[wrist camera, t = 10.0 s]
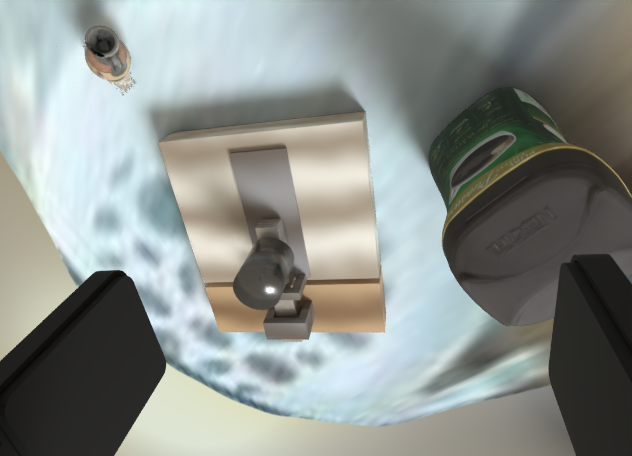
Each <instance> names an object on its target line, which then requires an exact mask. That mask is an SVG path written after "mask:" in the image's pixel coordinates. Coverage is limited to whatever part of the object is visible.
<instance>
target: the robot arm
mask: <svg viewBox="0 0 632 456" xmlns="http://www.w3.org/2000/svg"><path fill="white" fill-rule="evenodd" d="M165 369H166V360H165V357H164V354H163V352H162V350H161V347H160V345H159V342H158V340H157V337H156V335H155V333H154V330H153V328H152V325H151V323H150V321H149V318H148V316H147V313H146V311H145V308H144V306H143V304H142V301H141V299H140V296H139V294H138V292H137V289H136V287H135V284H134V282H133V280H132V279H131V278H130V277H129V276H127V275H126V274H125V273H124V272H123V271H120V270H111V271H97V272H95V273H93V274H92V275H91V276H90V277H89V278H88V279H87V280H86V281H85V282H84V283H83V284H82V285H80V286H79V287H78V288H77V289H76V290H75V291H74V292H73V293H72V294H71V295H70V296H69V297H68V298H67V299H66V300H65V301H64V302H62V303H61V304H60V305H59V306H58V307H57V308H56V309H55V310H54V311H53V312H52V313H51V314H50V315H49V316H48V317H47V318H45V319H44V320H43V321H42V322H41V323H40V324H39V325H38V326H37V327H36V328H35V329H34V330H33V331H32V332H31V333H30V334H28V336H26V337H25V338H24V339H23V340H22V341H21V342H20V343H19V344H18V345H17V346H16V347H15V348H14V349H13V350H12V351H10V353H8V354H7V355H6V356H5V357H4V358H3V359H2V360H1V361H0V456H114V455H115V453H116V452H117V450H118V448H119V447H120V445H121V444H122V442H123V440H124V439H125V437H126V435H127V434H128V432H129V431H130V429H131V427H132V425H133V424H134V422H135V421H136V419H137V417H138V416H139V414H140V413H141V411H142V409H143V408H144V406H145V404H146V403H147V401H148V399H149V398H150V396H151V395H152V393H153V391H154V390H155V388H156V386H157V385H158V383H159V382H160V380H161V378H162V376H163V375H164V373H165ZM549 377H550V382H551V386H552V388H553V391H554V394H555V397H556V400H557V403H558V405H559V408H560V411H561V414H562V417H563V420H564V422H565V425H566V428H567V431H568V434H569V436H570V439H571V442H572V445H573V448H574V451H575V453H576V456H632V284H631V282H630V281H629V280H628V278H627V277H626V275H625V274H624V273H623V271H622V270H621V269H620V267H619V266H618V265H617V263H616V262H615V261H614V259H613V258H612V257H611V256H610V255H609V254H582V255H574V256H572V259H571V262H569V263H562V264H561V267H560V273H559V282H558V290H557V299H556V307H555V316H554V324H553V333H552V342H551V350H550V359H549Z"/></svg>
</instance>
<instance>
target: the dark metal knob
mask: <svg viewBox="0 0 632 456" xmlns="http://www.w3.org/2000/svg"><path fill="white" fill-rule="evenodd" d="M255 230H256V234H257V238H258V241H257V242H256V243H255V244H254V246H253V247H252V249H251V251H250V252H249V254H248V256H247V258H246V259H245V261H244V263H243V265H242V266H241V268H240V270H239V272H238V273H237V275H236V277H235V279H234V281H233V291H234V294H235V295H236V297H237V298H238V300H239V301H240V302H241V303H243V304H244V305H246V306H247V307H250V308H252V309H256V310H267V309H270V308H273V307H275V311H276V315H277V318H299V315H300V312H301V308H300V303H299V300H280V298H281V295H282V293H283V290H284V288H292V287H293V285H294V282H295V280H294V275H293V270H292V268H293V265H294V261H295V258H294V254H293V251H292V250H291V248H290V247H289V246H288V245H287V242H286V237H285V233H284V228H283V223H282V219H281V218H280V219H263V220H260V221H259V223H258V224H257V226H256V228H255ZM282 340H283V341H294V342H302V340H303V339H282Z"/></svg>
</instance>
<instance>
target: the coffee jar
mask: <svg viewBox="0 0 632 456" xmlns="http://www.w3.org/2000/svg"><path fill="white" fill-rule="evenodd" d="M428 161H429V167H430V170H431V174H432V176H433V179H434V181H435V183H436V185H437V187H438V189H439V191H440V193H441V195H442V198H443V200H444V203H445V205H446V209H447V217H446V220H445V224H444V228H443V233H442V247H443V251H444V254H445V257H446V259H447V261H448V264H449V267H450V269H451V271H452V273H453V275H454V277H455V278H456V280H457V281H458V283H459V284H460V286H461V287H462V288H463V290H464V291H465V292H466V293H467V294H468V295H469V296H470V297H471V299H472V300H473V301H474V302H475V303H476V304H478V305H479V306H480V307H481V308H482V309H483V310H484V311H485V312H487V313H488V314H489V315H490V316H491V317H493V318H494V319H496V320H497V321H498V322H500V323H501V324H503V325H505V326H527V325H534V324H538V323H541V322H544V321H547V320H550V319H552V318H554V316H555V307H556V299H557V290H558V282H559V273H560V267H561V264H562V263H569V262H571V259H572V256H574V255H582V254H609V255H610V256H611V257H612V258H613V259H614V261H615V262H616V263H617V265H618V266H619V267H620V269H621V270H622V271H623V273H624V274H625V275H626V277H627V276H628V275H629V274H631V273H632V196H631V194H630V192H629V190H628V189H627V187H626V186H625V184H624V182H623V181H622V180H621V178H620V177H619V176H618V174H617V173H616V172H615V171H614V170H613V169H612V168H611V167H610V166H609V165H608V164H607V163H606V162H604V161H603V160H602V159H601V158H599V157H598V156H597V155H595V154H594V153H592V152H591V151H589V150H587V149H585V148H583V147H581V146H578V145H574V144H568V143H567V141H566V140H565V138H564V136H563V135H562V133H561V131H560V129H559V128H558V126H557V125H556V123H555V122H554V120H553V119H552V118H551V116H550V115H549V114H548V113H547V111H546V110H545V109H544V108H543V107H542V106H541V105H540V104H539V103H538V102H536V101H535V100H534V99H533V98H532V97H531V96H529V95H528V94H527V93H525V92H523V91H521V90H518V89H514V88H502V89H498V90H495V91H492V92H490V93H488V94H487V95H485V96H484V97H482V98H481V99H479V100H478V101H477V102H475V103H474V104H472V105H471V106H470V107H469V108H467V109H466V110H465V111H464V112H463V113H461V114H460V115H459V116H458V117H457V118H456V119H455V120H454V121H452V123H450V124H449V125H448V126H447V127H446V128H445V130H444V131H443V132H442V133H441V134H440V135H439V136H438V137H437V139H436V140H435V141H434V142H433V144H432V146H431V148H430V151H429V157H428Z"/></svg>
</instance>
